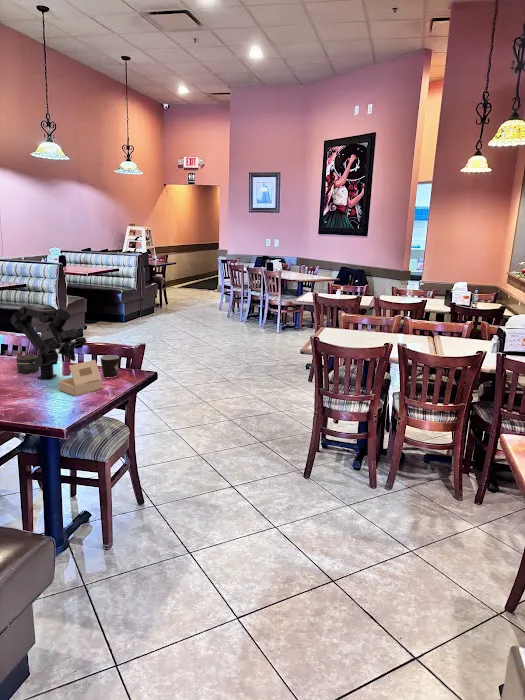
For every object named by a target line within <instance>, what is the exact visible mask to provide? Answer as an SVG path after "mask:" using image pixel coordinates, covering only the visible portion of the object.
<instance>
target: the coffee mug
mask: <svg viewBox="0 0 525 700" xmlns="http://www.w3.org/2000/svg"><path fill="white" fill-rule="evenodd" d="M119 360H120V356H118V355H113V354H108V355H107V354H106V355H102V356H100V363H101V370H102V375H103V376H104V377H114V376H116V375H117V376H118V372H119V371H118V369H119ZM104 377H103V378H104Z"/></svg>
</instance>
